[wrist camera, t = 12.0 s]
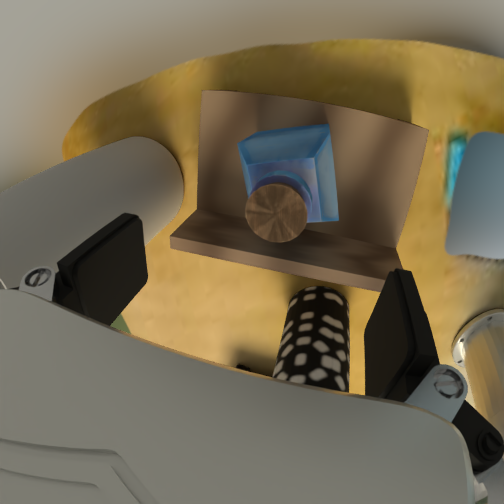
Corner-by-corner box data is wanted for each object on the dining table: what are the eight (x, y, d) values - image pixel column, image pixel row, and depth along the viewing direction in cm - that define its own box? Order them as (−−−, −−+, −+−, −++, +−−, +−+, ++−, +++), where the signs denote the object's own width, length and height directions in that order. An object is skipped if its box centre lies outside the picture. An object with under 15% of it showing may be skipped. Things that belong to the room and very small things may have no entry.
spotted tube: (280, 292, 39) (242, 428, 23) (342, 280, 36) (338, 425, 20) (298, 336, 43) (272, 461, 26) (353, 327, 40) (350, 459, 23)
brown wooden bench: (411, 123, 25) (455, 141, 15) (383, 233, 32) (402, 296, 22) (222, 89, 28) (170, 91, 18) (215, 200, 35) (170, 248, 25)
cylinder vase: (173, 124, 31) (-26, 210, 10) (196, 222, 37) (66, 379, 16) (97, 147, 35) (-62, 230, 14) (121, 229, 41) (-3, 345, 20)
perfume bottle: (256, 132, 24) (205, 163, 14) (328, 123, 23) (332, 147, 13) (268, 197, 27) (230, 268, 17) (336, 192, 26) (341, 265, 15)
